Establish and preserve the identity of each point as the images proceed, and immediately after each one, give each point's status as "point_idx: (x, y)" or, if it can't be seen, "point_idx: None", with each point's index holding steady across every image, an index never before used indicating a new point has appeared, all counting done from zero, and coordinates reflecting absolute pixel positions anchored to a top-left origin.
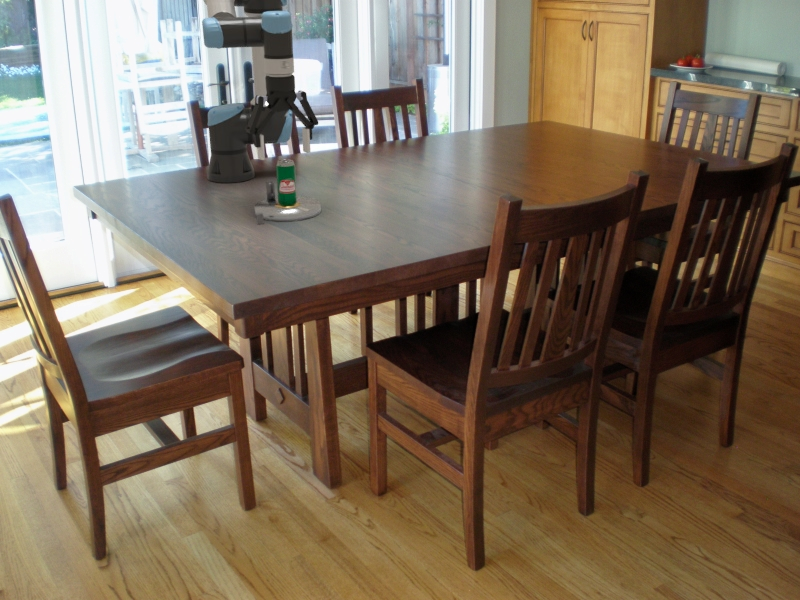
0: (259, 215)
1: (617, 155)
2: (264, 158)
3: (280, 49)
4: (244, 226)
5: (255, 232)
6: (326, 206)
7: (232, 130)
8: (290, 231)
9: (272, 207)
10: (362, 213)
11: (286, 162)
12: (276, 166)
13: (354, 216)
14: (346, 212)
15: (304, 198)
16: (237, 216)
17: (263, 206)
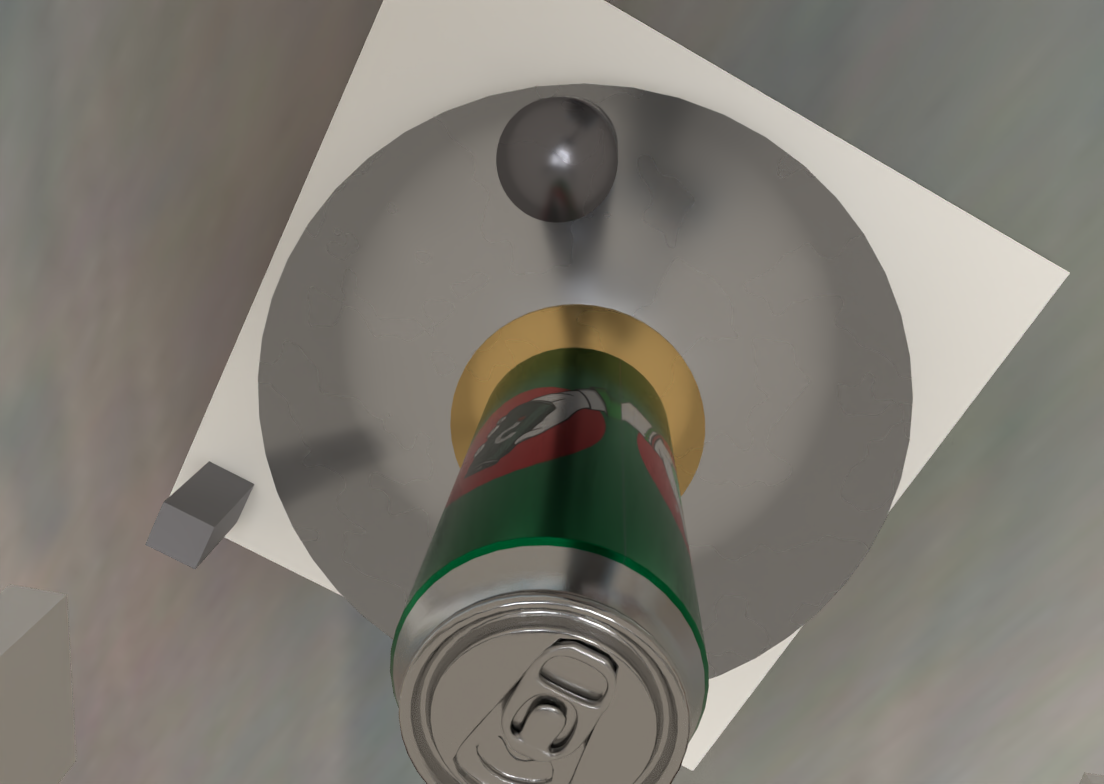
0: (171, 550)
1: None
2: (47, 781)
3: None
4: (156, 347)
5: None
6: (1058, 363)
7: None
8: (370, 680)
9: (417, 392)
10: (1072, 722)
11: None
12: (396, 627)
13: (963, 734)
14: (1014, 620)
15: (860, 353)
16: (241, 29)
17: (369, 300)
